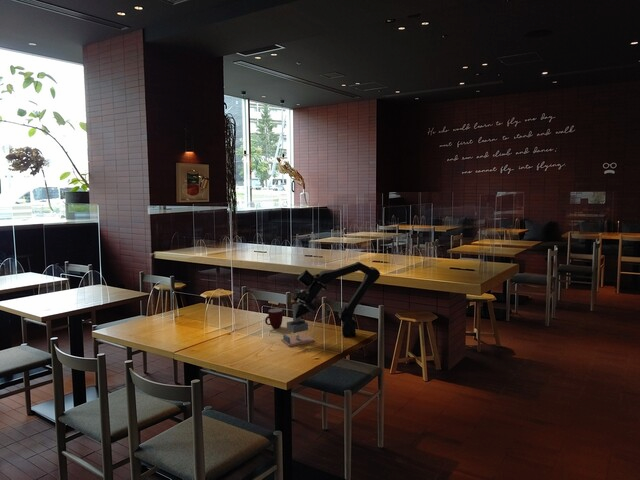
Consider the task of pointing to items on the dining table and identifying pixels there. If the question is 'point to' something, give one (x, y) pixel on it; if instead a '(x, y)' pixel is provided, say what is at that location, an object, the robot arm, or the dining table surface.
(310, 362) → the dining table surface
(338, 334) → the dining table surface
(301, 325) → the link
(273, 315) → the mug
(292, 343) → the plate
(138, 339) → the dining table surface
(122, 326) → the dining table surface
